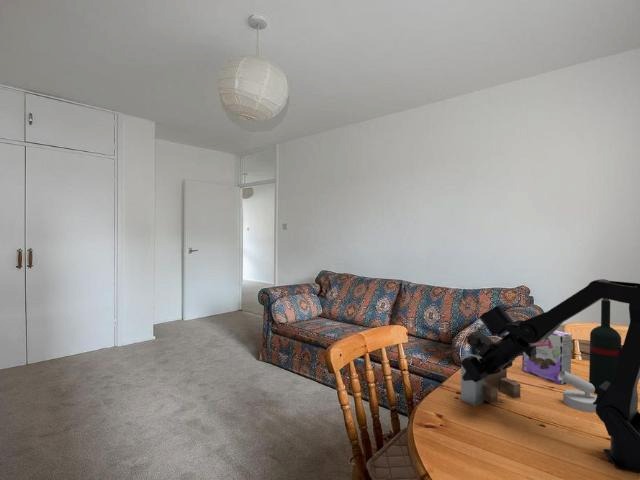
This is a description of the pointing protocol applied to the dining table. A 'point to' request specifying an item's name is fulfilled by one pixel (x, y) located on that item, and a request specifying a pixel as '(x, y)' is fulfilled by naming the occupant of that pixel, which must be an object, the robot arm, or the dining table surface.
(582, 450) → the dining table surface
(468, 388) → the grey square pillar
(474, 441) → the dining table surface
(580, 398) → the wall hook
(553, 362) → the candy box
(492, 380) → the bench
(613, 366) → the wine bottle
